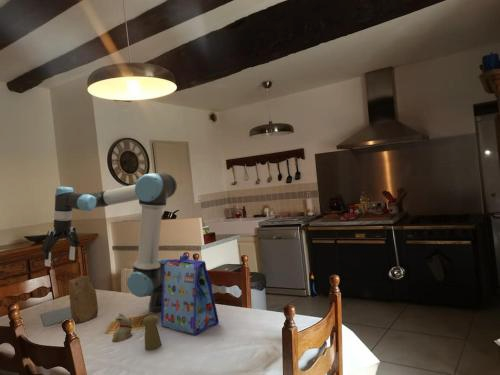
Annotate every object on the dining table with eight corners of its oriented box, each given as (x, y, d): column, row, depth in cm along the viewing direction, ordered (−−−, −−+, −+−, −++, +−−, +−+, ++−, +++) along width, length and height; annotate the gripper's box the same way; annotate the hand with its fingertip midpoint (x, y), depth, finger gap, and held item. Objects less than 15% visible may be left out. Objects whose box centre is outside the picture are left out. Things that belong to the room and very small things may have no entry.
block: (76, 325, 165) (71, 281, 165) (71, 321, 170) (65, 279, 170) (100, 316, 173) (95, 274, 172) (94, 314, 178) (89, 273, 178)
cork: (146, 352, 128) (142, 321, 128) (143, 346, 134) (139, 316, 133) (163, 346, 131) (160, 316, 131) (159, 341, 136) (156, 312, 136)
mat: (80, 317, 176) (80, 316, 176) (44, 327, 167) (44, 326, 167) (72, 306, 196) (72, 305, 196) (40, 314, 187) (40, 313, 187)
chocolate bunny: (133, 337, 143) (130, 312, 142) (112, 343, 140) (109, 317, 140) (133, 332, 148) (130, 308, 148) (112, 337, 145) (109, 312, 145)
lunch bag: (220, 323, 147) (211, 252, 147) (194, 336, 137) (185, 260, 136) (185, 315, 161) (177, 250, 161) (159, 327, 151) (151, 257, 151)
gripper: (78, 215, 188) (75, 255, 189) (33, 221, 164) (30, 267, 166) (89, 217, 185) (86, 258, 186) (44, 223, 162) (42, 270, 163)
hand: (60, 262), depth 176 cm, fingers open, 13 cm apart
